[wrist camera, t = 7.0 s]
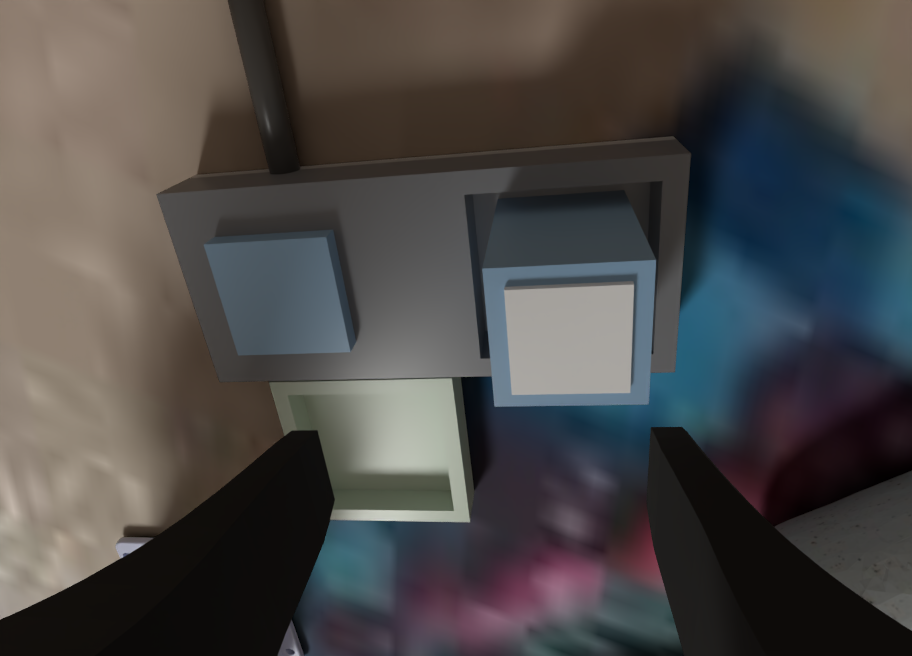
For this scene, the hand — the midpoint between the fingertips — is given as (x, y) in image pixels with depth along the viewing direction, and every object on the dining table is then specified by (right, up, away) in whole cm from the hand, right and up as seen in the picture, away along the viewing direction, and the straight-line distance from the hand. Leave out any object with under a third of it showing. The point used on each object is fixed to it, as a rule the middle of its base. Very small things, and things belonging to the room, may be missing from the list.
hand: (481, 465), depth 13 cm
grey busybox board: (-2, +8, +7) cm, 11 cm away
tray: (-4, -1, +12) cm, 13 cm away
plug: (+3, +5, +7) cm, 10 cm away
